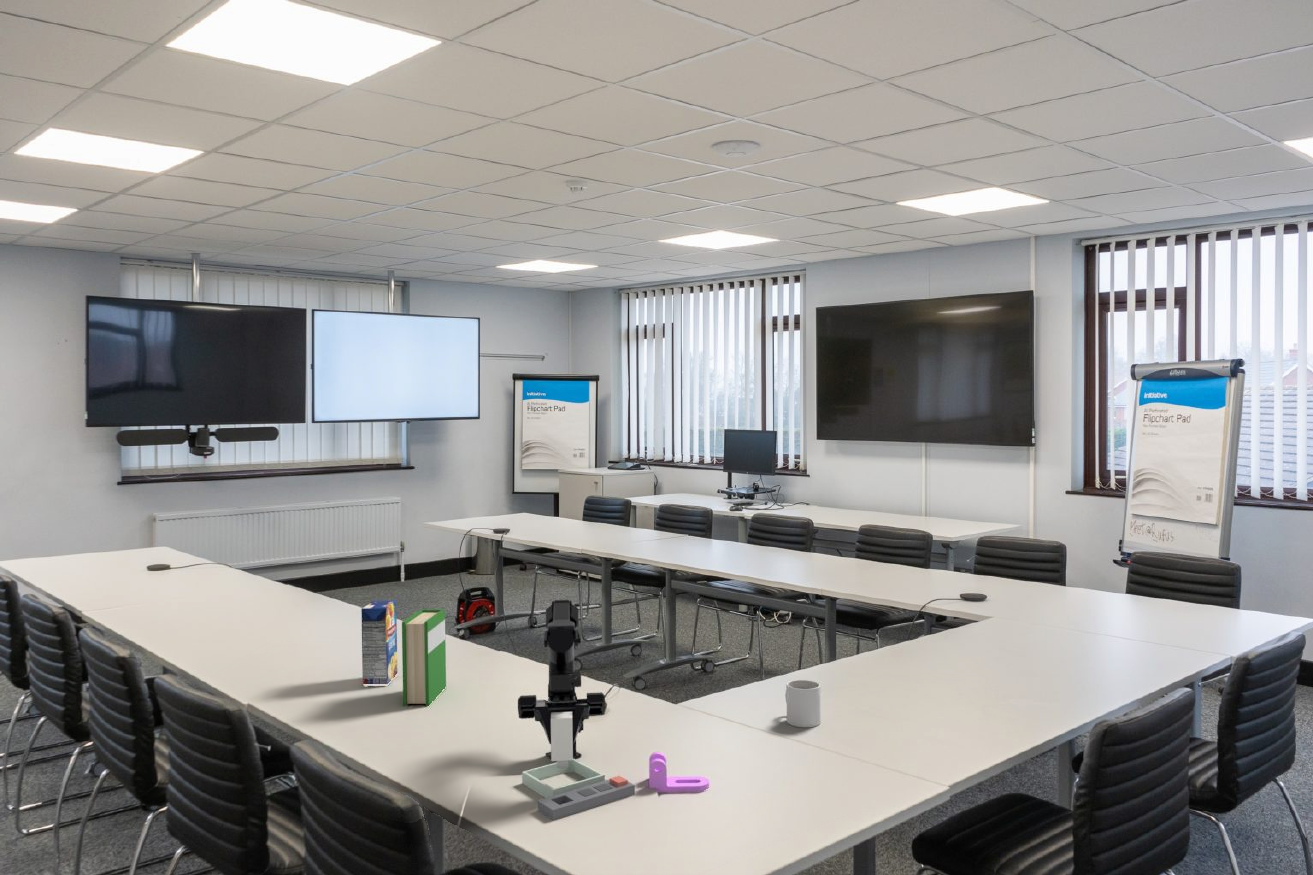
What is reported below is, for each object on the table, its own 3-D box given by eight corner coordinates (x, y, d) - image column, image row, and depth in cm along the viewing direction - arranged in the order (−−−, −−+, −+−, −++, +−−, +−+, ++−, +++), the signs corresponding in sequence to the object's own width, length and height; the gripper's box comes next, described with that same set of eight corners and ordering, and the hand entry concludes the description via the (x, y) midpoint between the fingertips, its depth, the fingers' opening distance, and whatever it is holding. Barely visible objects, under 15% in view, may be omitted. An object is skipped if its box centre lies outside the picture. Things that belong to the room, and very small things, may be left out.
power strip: (553, 825, 182) (552, 805, 182) (537, 815, 187) (537, 796, 187) (634, 798, 194) (634, 781, 194) (618, 790, 199) (618, 772, 199)
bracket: (649, 793, 197) (649, 760, 197) (649, 783, 203) (649, 751, 203) (710, 792, 197) (709, 760, 197) (708, 782, 203) (708, 750, 203)
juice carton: (374, 676, 292) (372, 601, 292) (397, 675, 293) (396, 600, 292) (362, 686, 280) (361, 608, 280) (387, 686, 281) (385, 608, 280)
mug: (820, 728, 237) (819, 689, 237) (783, 726, 239) (782, 688, 239) (821, 715, 248) (820, 678, 248) (785, 713, 250) (785, 676, 250)
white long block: (551, 763, 197) (551, 712, 197) (572, 762, 198) (572, 711, 197) (551, 770, 193) (550, 718, 193) (573, 769, 194) (572, 717, 193)
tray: (522, 787, 201) (522, 771, 201) (572, 773, 209) (572, 757, 209) (553, 806, 190) (552, 790, 190) (605, 790, 198) (604, 774, 198)
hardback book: (428, 706, 260) (427, 622, 260) (403, 706, 260) (401, 622, 260) (446, 688, 278) (444, 609, 277) (422, 688, 278) (420, 609, 278)
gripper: (517, 658, 198) (515, 727, 187) (604, 655, 199) (606, 723, 189) (519, 684, 206) (518, 751, 195) (603, 680, 208) (605, 747, 197)
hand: (561, 742), depth 194 cm, fingers closed on white long block, 4 cm apart
